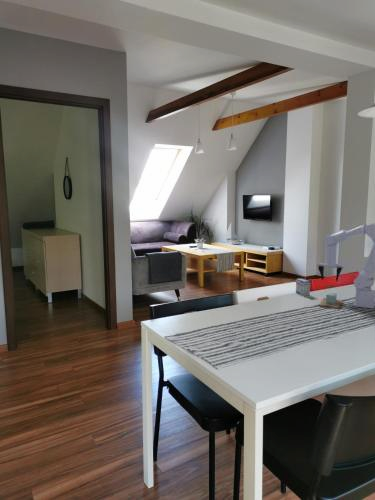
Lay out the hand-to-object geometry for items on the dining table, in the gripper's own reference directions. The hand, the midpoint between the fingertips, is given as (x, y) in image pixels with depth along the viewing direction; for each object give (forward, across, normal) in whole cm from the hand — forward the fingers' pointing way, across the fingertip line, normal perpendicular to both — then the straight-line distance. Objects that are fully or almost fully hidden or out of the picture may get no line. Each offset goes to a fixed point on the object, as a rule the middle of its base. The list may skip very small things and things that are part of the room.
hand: (329, 280), depth 213 cm
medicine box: (+11, +15, -2) cm, 19 cm away
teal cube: (+9, -3, +13) cm, 16 cm away
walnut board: (+10, -3, +13) cm, 17 cm away
